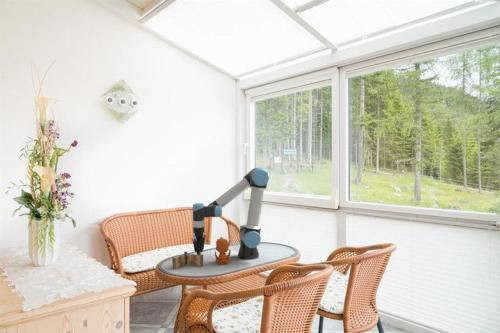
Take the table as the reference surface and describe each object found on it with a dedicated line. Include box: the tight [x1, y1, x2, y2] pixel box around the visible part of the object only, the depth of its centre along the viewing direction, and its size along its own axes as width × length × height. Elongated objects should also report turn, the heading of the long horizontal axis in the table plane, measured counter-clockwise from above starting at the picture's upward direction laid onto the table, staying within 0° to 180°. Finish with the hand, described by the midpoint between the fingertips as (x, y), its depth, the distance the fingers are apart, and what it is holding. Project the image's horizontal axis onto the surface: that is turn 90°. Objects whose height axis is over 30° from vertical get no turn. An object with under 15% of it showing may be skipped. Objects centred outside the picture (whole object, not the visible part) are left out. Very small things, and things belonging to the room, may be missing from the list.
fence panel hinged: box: [187, 253, 204, 268], centre depth 228 cm, size 12×2×8 cm, turn 63°
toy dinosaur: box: [214, 236, 232, 266], centre depth 233 cm, size 11×11×18 cm
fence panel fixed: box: [171, 251, 188, 270], centre depth 227 cm, size 13×2×8 cm, turn 151°
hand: (199, 261), depth 230 cm, fingers closed
